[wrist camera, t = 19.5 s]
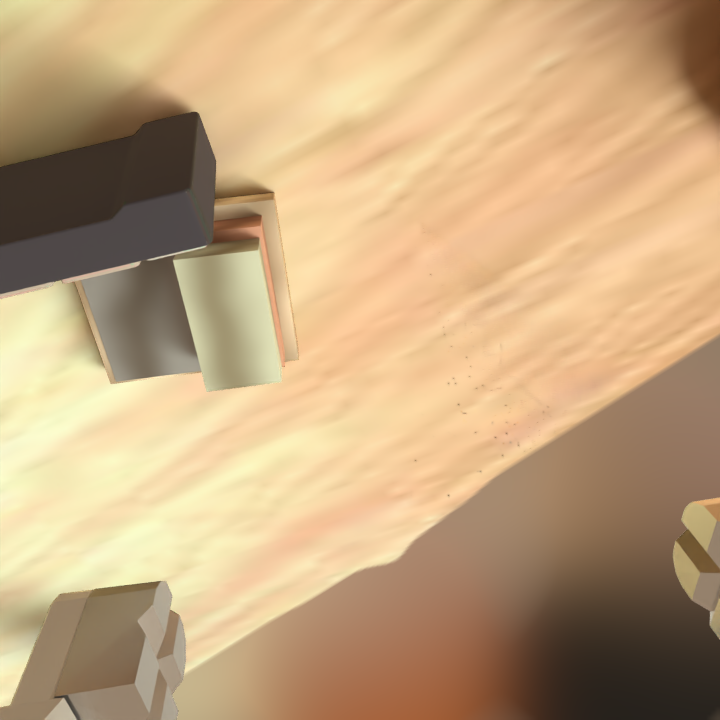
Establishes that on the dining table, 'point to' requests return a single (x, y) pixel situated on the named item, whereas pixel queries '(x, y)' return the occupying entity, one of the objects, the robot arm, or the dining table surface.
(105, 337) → the sticky note pad set
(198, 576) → the dining table surface
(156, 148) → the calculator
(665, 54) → the dining table surface
